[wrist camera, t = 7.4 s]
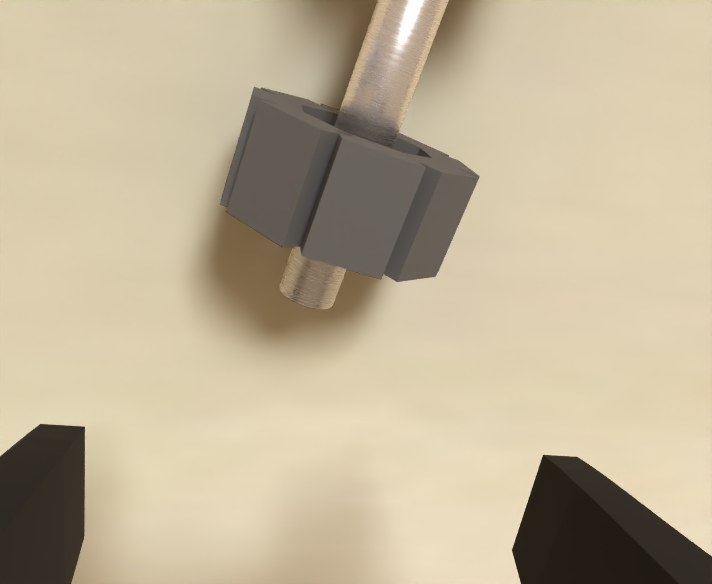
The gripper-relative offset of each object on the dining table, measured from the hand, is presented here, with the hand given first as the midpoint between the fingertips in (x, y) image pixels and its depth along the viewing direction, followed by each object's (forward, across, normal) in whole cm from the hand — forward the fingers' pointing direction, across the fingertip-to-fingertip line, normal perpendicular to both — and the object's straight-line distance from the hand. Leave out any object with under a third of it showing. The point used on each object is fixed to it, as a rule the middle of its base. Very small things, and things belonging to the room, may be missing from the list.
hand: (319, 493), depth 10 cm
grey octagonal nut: (+9, -1, -4) cm, 10 cm away
